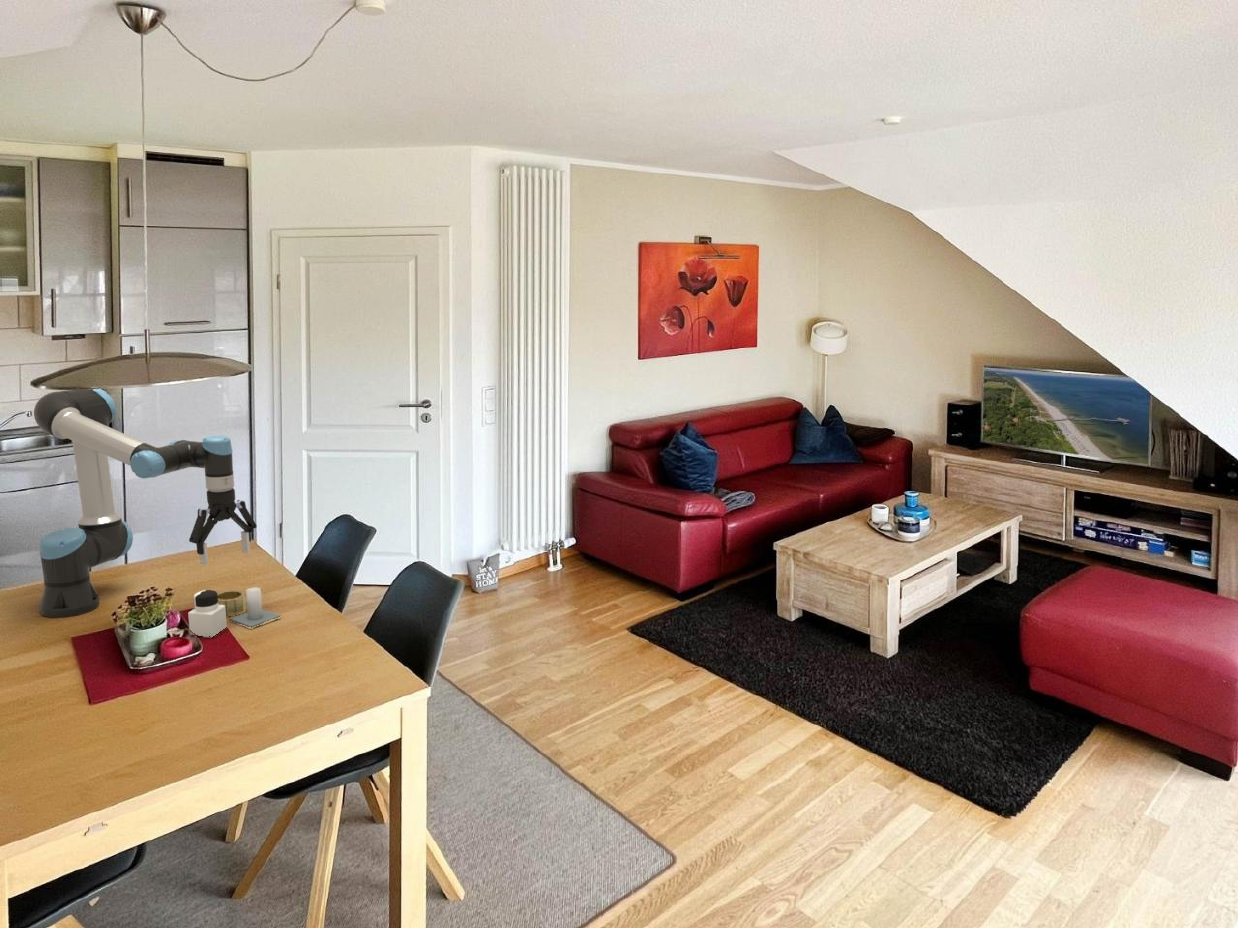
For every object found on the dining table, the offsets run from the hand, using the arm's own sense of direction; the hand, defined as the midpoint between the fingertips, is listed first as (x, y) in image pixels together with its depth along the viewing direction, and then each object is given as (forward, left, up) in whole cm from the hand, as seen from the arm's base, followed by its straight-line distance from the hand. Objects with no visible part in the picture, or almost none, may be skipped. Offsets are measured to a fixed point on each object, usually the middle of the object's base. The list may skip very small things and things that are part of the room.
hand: (225, 558), depth 260 cm
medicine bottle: (+9, -13, -17) cm, 23 cm away
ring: (0, 0, -17) cm, 17 cm away
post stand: (+12, 0, -17) cm, 21 cm away
